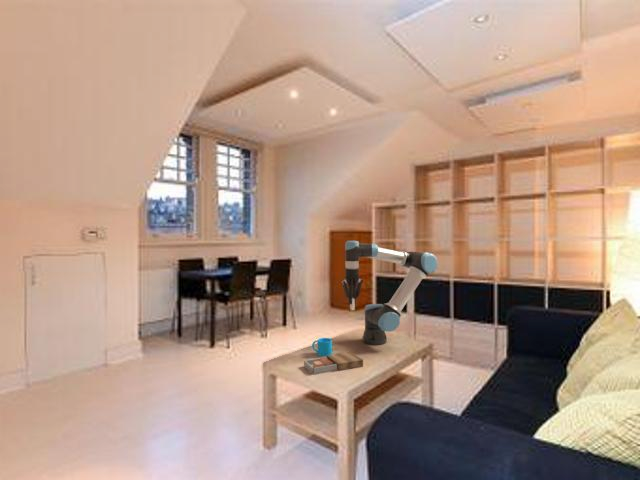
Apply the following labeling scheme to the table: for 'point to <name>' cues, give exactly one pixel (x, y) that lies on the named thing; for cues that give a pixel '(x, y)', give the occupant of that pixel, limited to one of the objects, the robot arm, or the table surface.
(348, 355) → the brown square slab
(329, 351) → the mug
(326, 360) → the tile
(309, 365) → the tray
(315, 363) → the tile
